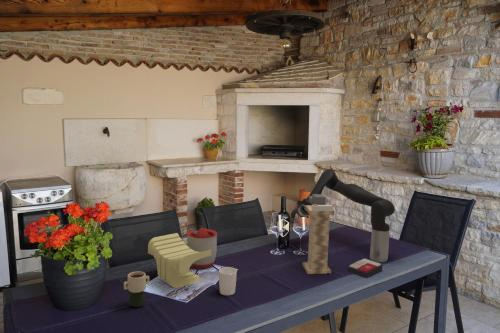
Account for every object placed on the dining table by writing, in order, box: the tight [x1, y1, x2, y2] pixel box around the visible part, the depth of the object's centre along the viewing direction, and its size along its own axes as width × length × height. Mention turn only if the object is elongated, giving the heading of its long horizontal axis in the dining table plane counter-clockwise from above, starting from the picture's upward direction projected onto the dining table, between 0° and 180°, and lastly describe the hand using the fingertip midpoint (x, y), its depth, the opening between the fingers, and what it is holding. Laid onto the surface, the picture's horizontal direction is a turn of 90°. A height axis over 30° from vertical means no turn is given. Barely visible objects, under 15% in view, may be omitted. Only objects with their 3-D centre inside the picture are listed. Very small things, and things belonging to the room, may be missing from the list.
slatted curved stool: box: [147, 232, 211, 289], centre depth 190 cm, size 30×16×18 cm, turn 40°
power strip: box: [311, 204, 334, 211], centre depth 199 cm, size 10×2×3 cm, turn 97°
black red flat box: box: [347, 258, 383, 279], centre depth 208 cm, size 11×4×15 cm
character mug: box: [123, 270, 150, 308], centre depth 165 cm, size 11×7×13 cm, turn 130°
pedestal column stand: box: [301, 205, 335, 275], centre depth 207 cm, size 12×12×32 cm
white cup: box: [218, 266, 238, 296], centre depth 179 cm, size 8×8×10 cm
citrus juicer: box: [186, 226, 218, 269], centre depth 210 cm, size 16×17×20 cm
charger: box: [308, 193, 327, 205], centre depth 210 cm, size 5×16×6 cm, turn 7°
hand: (313, 199), depth 214 cm, fingers open, 8 cm apart
